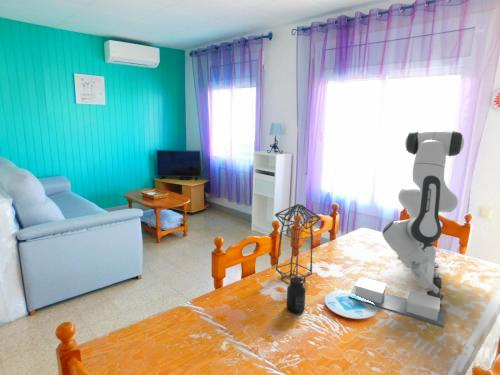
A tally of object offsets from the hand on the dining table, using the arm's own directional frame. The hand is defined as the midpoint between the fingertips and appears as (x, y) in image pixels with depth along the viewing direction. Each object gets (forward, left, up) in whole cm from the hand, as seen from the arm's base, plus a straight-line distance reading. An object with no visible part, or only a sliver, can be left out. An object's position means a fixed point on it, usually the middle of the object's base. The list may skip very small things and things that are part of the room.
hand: (438, 287), depth 124 cm
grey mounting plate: (+10, -14, -7) cm, 18 cm away
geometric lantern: (+15, -55, -7) cm, 57 cm away
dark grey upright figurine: (0, -1, -7) cm, 7 cm away
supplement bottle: (+36, -45, -7) cm, 58 cm away
